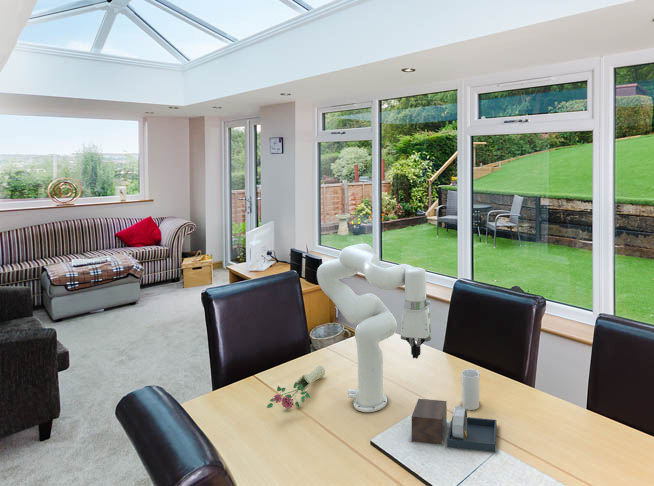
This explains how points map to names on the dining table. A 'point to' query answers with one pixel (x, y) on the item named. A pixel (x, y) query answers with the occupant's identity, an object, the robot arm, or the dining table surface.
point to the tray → (476, 435)
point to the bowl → (459, 422)
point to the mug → (470, 389)
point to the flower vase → (298, 388)
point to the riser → (429, 421)
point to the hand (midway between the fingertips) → (415, 356)
